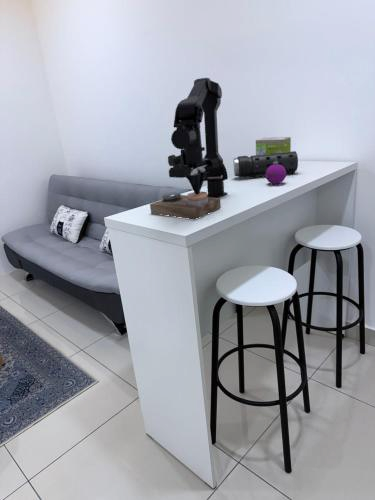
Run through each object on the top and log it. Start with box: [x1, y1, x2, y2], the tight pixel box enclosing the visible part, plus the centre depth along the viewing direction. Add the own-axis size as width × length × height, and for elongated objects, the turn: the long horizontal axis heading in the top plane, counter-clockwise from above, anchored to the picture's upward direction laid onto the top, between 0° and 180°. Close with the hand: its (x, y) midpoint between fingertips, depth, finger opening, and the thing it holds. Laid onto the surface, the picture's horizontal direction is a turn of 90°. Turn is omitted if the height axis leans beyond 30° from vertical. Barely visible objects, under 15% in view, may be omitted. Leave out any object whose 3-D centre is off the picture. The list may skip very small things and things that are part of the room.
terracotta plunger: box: [187, 191, 208, 206], centre depth 118 cm, size 6×6×5 cm
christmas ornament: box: [265, 160, 287, 185], centre depth 146 cm, size 8×8×10 cm
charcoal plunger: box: [161, 191, 181, 203], centre depth 126 cm, size 6×6×5 cm
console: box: [149, 194, 222, 220], centre depth 122 cm, size 14×20×4 cm
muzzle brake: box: [233, 150, 299, 179], centre depth 163 cm, size 10×28×10 cm, turn 89°
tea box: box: [255, 136, 292, 155], centre depth 181 cm, size 15×10×15 cm
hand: (197, 194), depth 117 cm, fingers closed, pressing on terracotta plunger
